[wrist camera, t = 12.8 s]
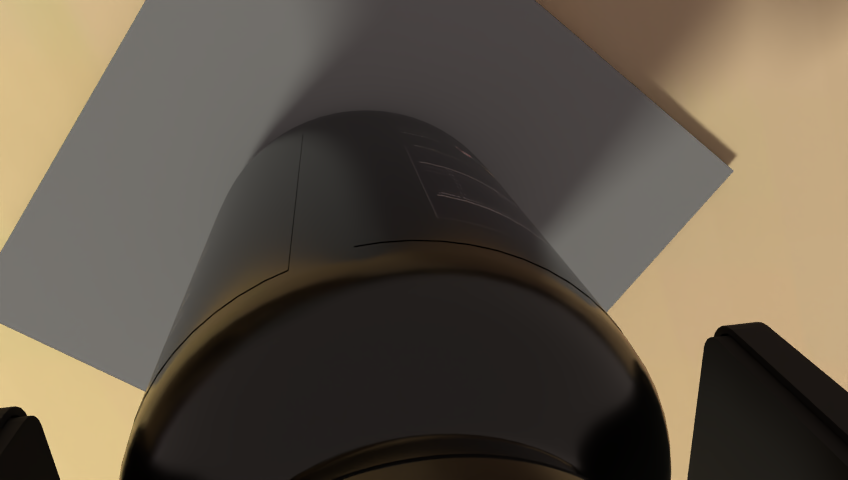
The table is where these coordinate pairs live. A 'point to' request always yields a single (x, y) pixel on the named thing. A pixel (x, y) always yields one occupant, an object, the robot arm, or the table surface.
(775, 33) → the table surface
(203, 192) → the mat
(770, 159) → the table surface
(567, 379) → the supplement bottle
